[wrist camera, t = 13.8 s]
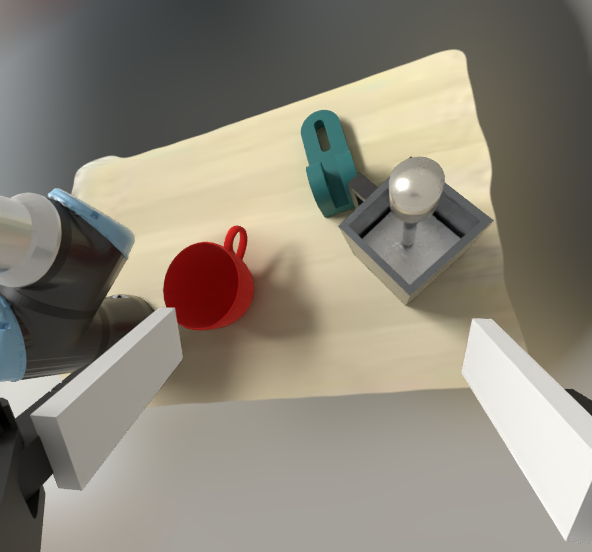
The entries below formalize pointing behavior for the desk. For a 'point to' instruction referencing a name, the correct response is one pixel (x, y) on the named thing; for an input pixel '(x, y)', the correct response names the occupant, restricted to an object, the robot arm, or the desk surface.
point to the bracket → (328, 163)
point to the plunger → (412, 220)
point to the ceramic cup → (210, 283)
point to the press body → (376, 207)
